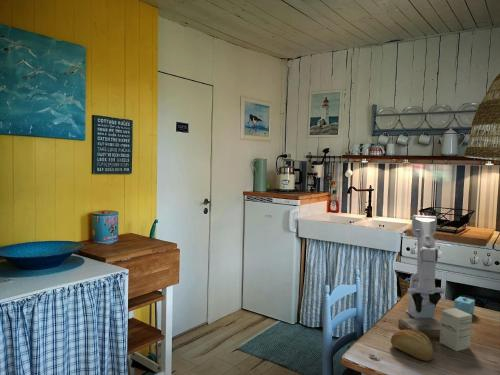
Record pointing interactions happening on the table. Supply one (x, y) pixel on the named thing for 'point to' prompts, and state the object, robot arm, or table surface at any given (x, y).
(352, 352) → the table surface
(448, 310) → the supplement box
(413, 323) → the wooden tray
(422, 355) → the bread roll
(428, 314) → the dusty blue block
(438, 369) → the table surface
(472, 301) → the light blue knobbed box
